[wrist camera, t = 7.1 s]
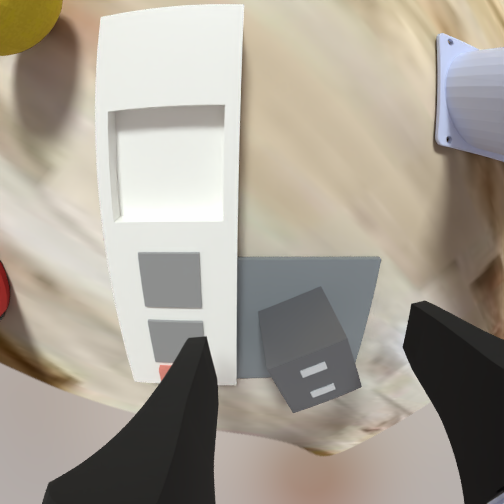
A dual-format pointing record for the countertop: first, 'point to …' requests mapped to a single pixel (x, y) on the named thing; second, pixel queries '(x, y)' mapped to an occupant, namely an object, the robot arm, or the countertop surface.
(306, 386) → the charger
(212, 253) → the strip
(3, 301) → the canned food
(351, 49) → the countertop surface
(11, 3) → the lemon
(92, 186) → the countertop surface
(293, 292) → the mat
